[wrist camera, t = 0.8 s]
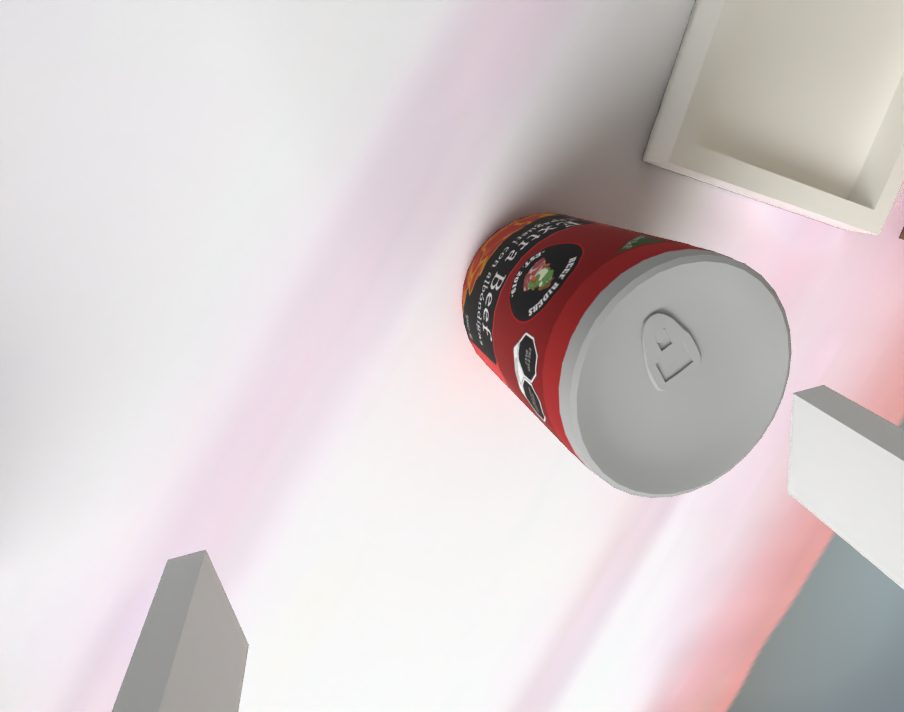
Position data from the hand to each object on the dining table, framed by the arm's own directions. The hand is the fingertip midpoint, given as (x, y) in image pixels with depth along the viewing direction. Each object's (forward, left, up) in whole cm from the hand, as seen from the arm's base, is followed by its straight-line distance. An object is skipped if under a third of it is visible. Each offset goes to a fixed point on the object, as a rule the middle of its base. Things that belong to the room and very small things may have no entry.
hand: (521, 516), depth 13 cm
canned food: (+1, +7, -15) cm, 16 cm away
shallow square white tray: (-6, +22, -14) cm, 27 cm away
